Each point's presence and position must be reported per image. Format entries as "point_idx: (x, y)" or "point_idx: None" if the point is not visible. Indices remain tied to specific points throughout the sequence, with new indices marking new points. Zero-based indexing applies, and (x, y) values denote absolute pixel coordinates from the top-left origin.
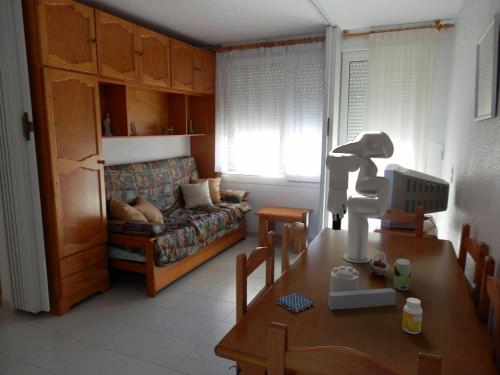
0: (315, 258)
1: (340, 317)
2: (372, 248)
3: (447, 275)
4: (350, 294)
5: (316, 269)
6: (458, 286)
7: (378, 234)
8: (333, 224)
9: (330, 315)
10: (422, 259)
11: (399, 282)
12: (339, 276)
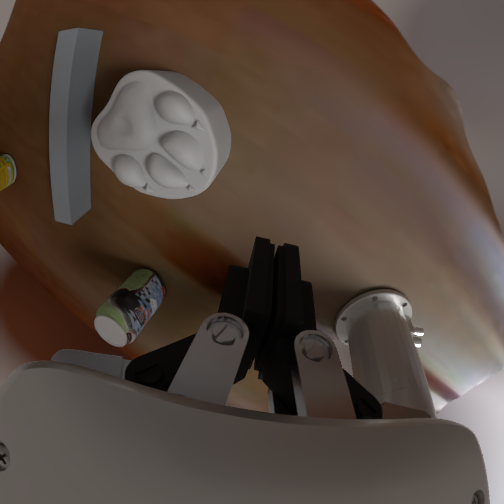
0: (454, 216)
1: (53, 46)
2: None
3: None
4: (52, 89)
5: (381, 147)
6: None
7: None
8: (258, 272)
9: (66, 25)
10: None
11: (126, 280)
12: (118, 94)
